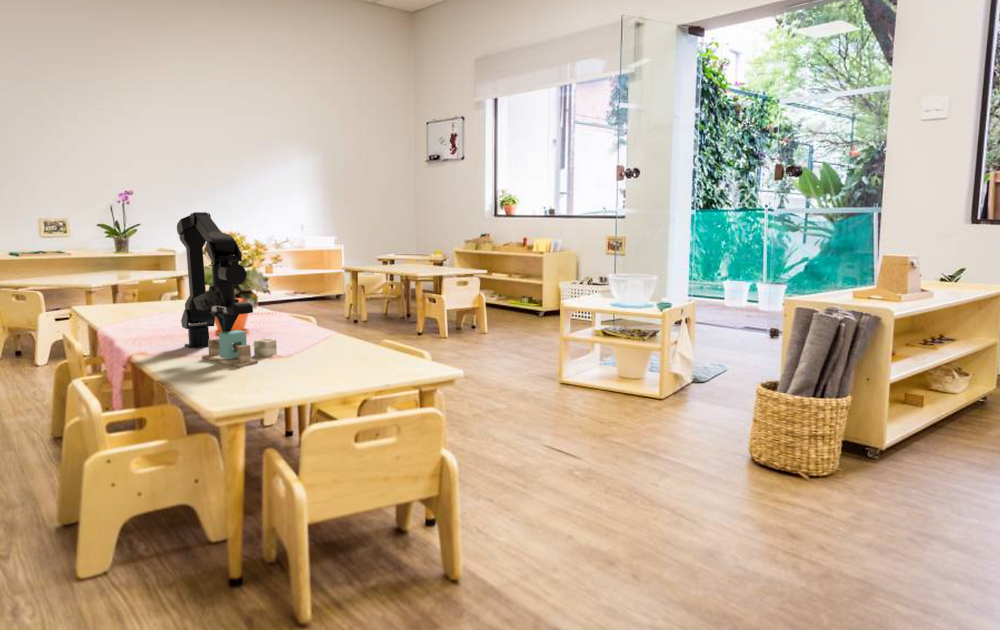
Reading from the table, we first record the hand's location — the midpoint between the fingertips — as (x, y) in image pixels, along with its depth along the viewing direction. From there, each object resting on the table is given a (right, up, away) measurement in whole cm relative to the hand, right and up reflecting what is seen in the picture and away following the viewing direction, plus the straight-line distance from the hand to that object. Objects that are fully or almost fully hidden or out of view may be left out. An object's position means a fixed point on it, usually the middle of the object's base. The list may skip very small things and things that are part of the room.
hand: (226, 335), depth 200 cm
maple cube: (+8, -6, +9) cm, 14 cm away
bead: (+2, -6, -1) cm, 6 cm away
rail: (+1, -7, +1) cm, 7 cm away
